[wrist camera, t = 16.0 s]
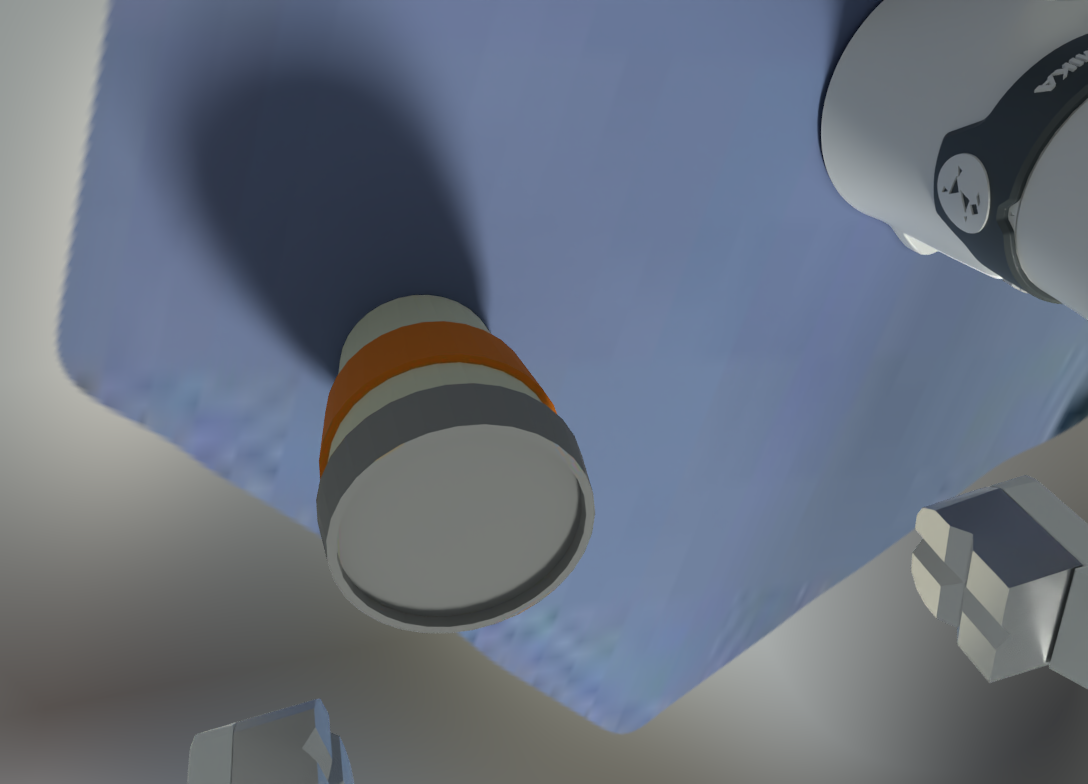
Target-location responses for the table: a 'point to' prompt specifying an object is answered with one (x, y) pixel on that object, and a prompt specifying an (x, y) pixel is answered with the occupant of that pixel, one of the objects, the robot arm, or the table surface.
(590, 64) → the table surface
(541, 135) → the table surface
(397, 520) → the reusable coffee cup
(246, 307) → the table surface
